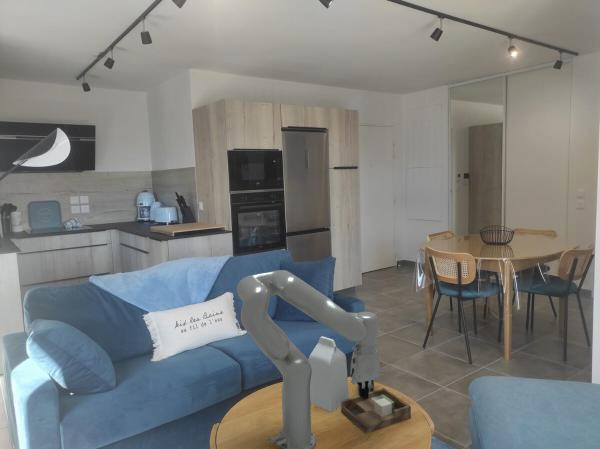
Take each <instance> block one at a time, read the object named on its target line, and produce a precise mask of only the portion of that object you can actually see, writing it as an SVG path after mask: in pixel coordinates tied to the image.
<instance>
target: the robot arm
mask: <svg viewBox="0 0 600 449" xmlns="http://www.w3.org/2000/svg"><path fill="white" fill-rule="evenodd" d="M236 293H237V295H238V297H239V299H240V300H241V301H242V306H241V309H240V321H241V325H242V327H243V329H244V331H246V333H247V334H248V335H249V336H250V338H251V339H252V340H253V341H254V343H255V344H256V345H257V347H258V348H259V350H260V351H261V352H262V353H263V355H265V357H267V358H268V359H269V360H270V361H271V362H272V363H273V365H274V366H275V367H276V368H277V370H278V371H279V373H280V374H281V376H282V387H281V406H282V407H281V409H282V410H281V411H282V429H280V430H279V432H280V433H278V434H277V435H275V436H272V437H269V442H270V443H269V444H271V445H272V444H276V446H277V447H278V446H279V447H280V448H281V449H314V447H315V446H316V444H317V438H316V435H315V433H313V432H312V416H311V415H312V413H311V412H312V411H311V409H312V407H311V405H312V404H311V403H310V382H311V375H312V368H311V365H310V362H309V358H307V356H305V354H304V353H303V351H301V350H300V349H299V348H298V347H297V346H296V345H295V344H294V343H293V342H292V341H291V340H290V338H289V337H288V334H286V332H284V330H283V329H282V328H281V327H280V326H279V325H278V324H276V323H275V322H274V319H272V318H271V316H270V315H269V313H268V307H269V304H270V299H271V297H273V296H279V297H280V298H281V299H282V300H284V301H285V302H287V304H288V303H289V304H290V305H291V306H293V307H295V308H296V309H298V310H299V311H301V312H302V313H304V314H306V315H307V316H308V317H310V318H311V319H313V320H314V321H316V322H318V323H320V324H322V325H323V326H325V327H327V328H328V329H330V330H332V331H334V332H335V333H336V334H337V335H339V336H341V337H342V338H344V339H345V340H347V341H349V342H350V343H354V346H352V348H351V349H352V351H353V353H352V355H351V356H352V357H351V362H350V371H349V372H350V378H351V381H350V383H351V384H352V385H355V386H358V385H359V395H360V397H362V398H363V399H368V394H369V387H370V386H371V383H372V382H373V381H374V382H375V381H376V380H378V379H379V378H380V376H381V359H380V354H379V350H378V349H377V346H378V345H377V344H378V343H377V342H378V316H377V314H376V313H374V312H371V311H360V312H349V311H346V310H345V309H343V308H342V307H340V306H339V305H338V304H336V303H335V302H334V301H333V300H332V299H330V298H329V297H328V296H326V295H325V294H324V293H323V292H320V291H318V290H317V289H316V288H314V287H313V286H312V285H310V284H309V283H307V282H305V281H304V280H303V279H301V278H300V277H298V276H296V275H295V274H293V273H292V272H290V271H289V270H285V269H279V270H273V271H268V272H262V273H257V274H252V275H247V276H245V277H243V278H242V279H241V280H240V281H239V282H238V283H237V286H236Z"/></svg>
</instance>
